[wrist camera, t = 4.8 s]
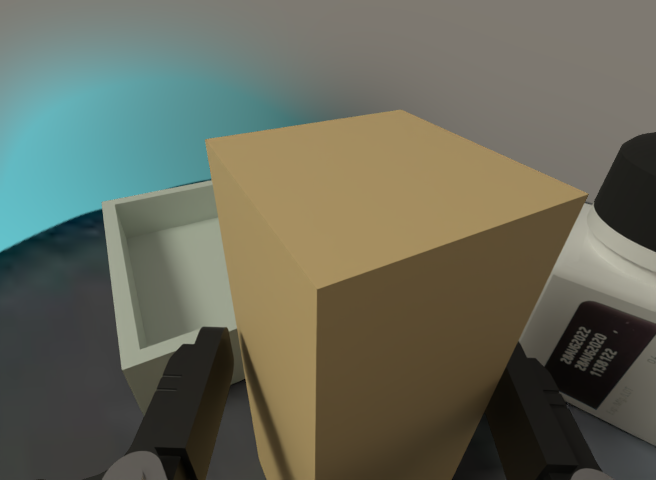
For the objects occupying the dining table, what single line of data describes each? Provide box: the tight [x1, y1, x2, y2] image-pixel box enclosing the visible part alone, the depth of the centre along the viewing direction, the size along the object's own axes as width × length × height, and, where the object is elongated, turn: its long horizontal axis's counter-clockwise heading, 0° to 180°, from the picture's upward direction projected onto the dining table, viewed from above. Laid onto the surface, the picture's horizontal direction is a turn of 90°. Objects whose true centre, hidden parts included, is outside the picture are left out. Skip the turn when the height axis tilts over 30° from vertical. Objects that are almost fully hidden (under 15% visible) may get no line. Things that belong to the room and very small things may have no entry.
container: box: [519, 132, 656, 446], centre depth 18 cm, size 8×8×13 cm
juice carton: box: [205, 110, 589, 480], centre depth 12 cm, size 6×6×15 cm
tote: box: [102, 180, 245, 416], centre depth 28 cm, size 24×16×4 cm, turn 119°
